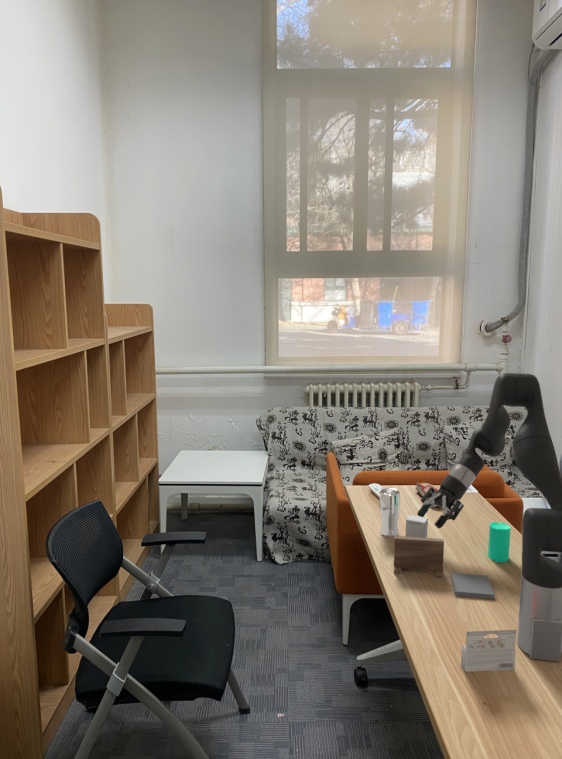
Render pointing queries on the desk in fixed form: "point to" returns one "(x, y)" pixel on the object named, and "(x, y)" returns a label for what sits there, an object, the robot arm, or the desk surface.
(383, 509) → the beer glass
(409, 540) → the walnut screen
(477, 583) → the grey mat
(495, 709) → the desk surface
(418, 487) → the paperback book
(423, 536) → the skincare box
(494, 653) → the ink cartridge box
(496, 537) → the candle
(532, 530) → the robot arm
